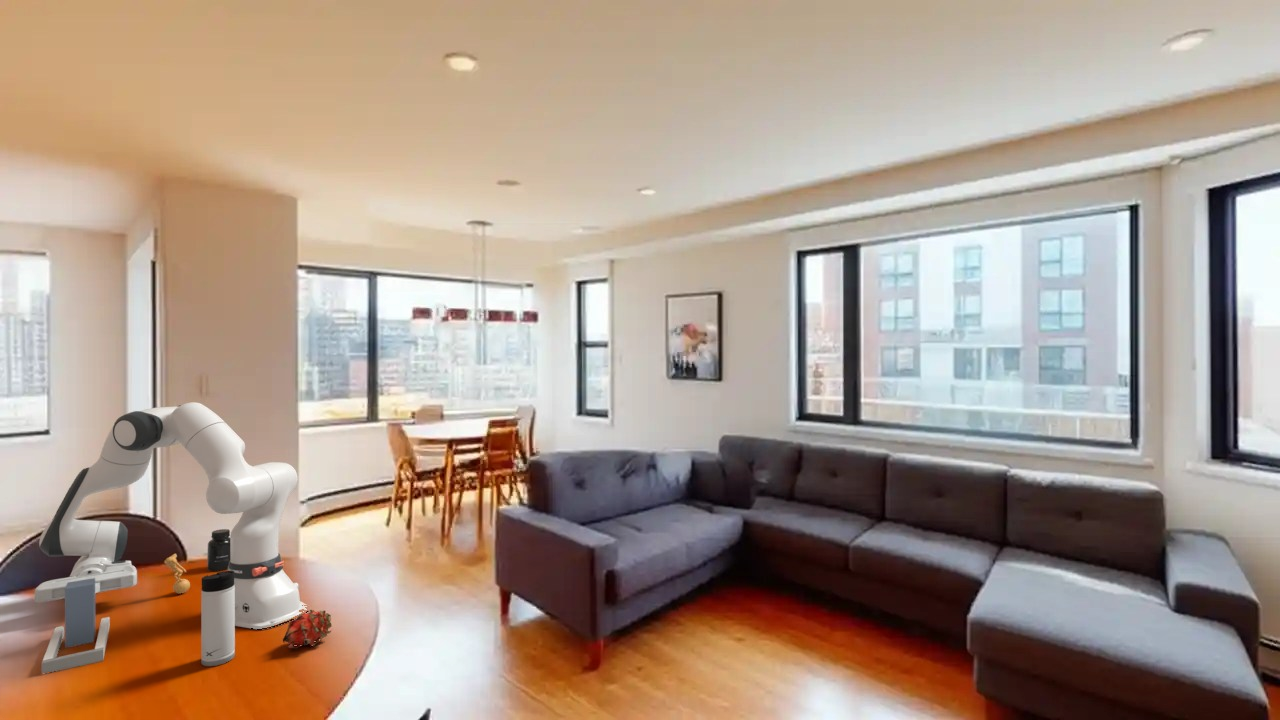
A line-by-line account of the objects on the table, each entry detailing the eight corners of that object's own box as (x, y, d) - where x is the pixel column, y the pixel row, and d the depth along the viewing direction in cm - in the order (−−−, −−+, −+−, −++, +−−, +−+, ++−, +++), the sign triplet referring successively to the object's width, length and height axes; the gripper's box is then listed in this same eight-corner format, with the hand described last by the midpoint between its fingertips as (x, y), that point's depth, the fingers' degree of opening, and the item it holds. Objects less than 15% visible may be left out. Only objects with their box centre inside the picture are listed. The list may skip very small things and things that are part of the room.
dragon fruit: (336, 640, 152) (288, 668, 142) (317, 615, 155) (268, 641, 145) (344, 619, 149) (296, 647, 139) (325, 594, 152) (275, 619, 141)
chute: (55, 637, 149) (55, 627, 149) (109, 626, 156) (109, 616, 156) (41, 674, 132) (41, 663, 132) (103, 660, 139) (103, 649, 139)
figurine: (198, 593, 177) (197, 551, 177) (175, 600, 172) (175, 558, 172) (180, 588, 181) (180, 547, 181) (157, 595, 175) (157, 554, 175)
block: (67, 640, 148) (67, 582, 148) (95, 634, 151) (95, 578, 151) (65, 648, 144) (64, 588, 144) (93, 642, 147) (93, 584, 147)
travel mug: (210, 670, 135) (210, 579, 135) (196, 661, 138) (196, 573, 138) (240, 658, 140) (240, 571, 140) (226, 650, 144) (226, 565, 143)
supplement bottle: (219, 572, 194) (219, 534, 194) (201, 570, 195) (201, 533, 195) (238, 565, 200) (238, 528, 200) (220, 563, 202) (220, 527, 202)
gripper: (37, 574, 162) (28, 591, 151) (137, 559, 174) (136, 573, 163) (37, 598, 162) (28, 616, 151) (138, 581, 174) (136, 596, 163)
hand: (85, 593), depth 157 cm, fingers closed
